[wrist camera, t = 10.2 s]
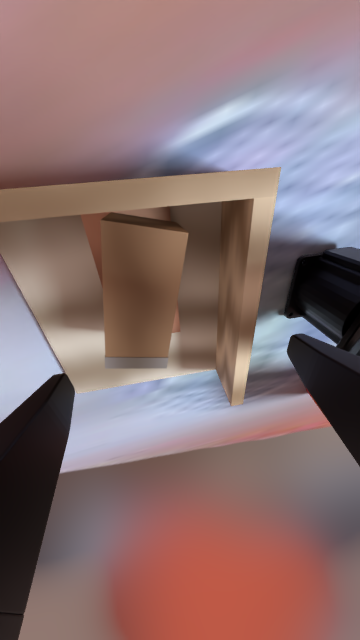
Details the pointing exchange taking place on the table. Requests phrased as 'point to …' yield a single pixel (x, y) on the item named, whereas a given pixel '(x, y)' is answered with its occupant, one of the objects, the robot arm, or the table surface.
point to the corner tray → (196, 281)
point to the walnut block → (140, 288)
